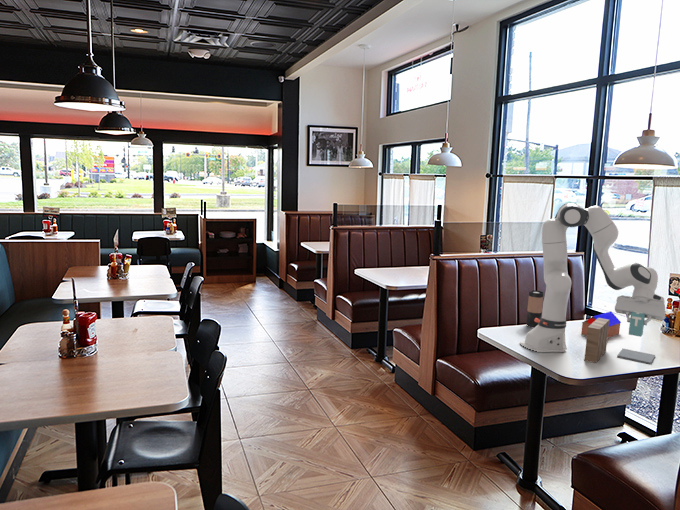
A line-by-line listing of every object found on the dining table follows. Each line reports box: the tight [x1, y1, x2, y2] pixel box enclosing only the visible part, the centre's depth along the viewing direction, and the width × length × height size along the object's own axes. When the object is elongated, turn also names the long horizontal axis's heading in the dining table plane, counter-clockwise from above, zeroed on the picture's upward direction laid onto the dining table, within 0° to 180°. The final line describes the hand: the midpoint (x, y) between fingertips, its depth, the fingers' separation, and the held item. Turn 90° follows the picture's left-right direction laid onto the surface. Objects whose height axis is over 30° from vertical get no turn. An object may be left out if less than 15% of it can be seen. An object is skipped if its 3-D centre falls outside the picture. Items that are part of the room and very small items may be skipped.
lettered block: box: [628, 311, 646, 337], centre depth 236 cm, size 5×5×10 cm
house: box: [580, 311, 622, 338], centre depth 284 cm, size 12×20×12 cm, turn 128°
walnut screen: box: [584, 318, 609, 364], centre depth 247 cm, size 22×5×16 cm, turn 142°
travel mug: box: [526, 289, 544, 329], centre depth 294 cm, size 8×8×20 cm
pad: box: [616, 348, 656, 365], centre depth 248 cm, size 14×14×1 cm
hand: (636, 323), depth 236 cm, fingers closed on lettered block, 5 cm apart
